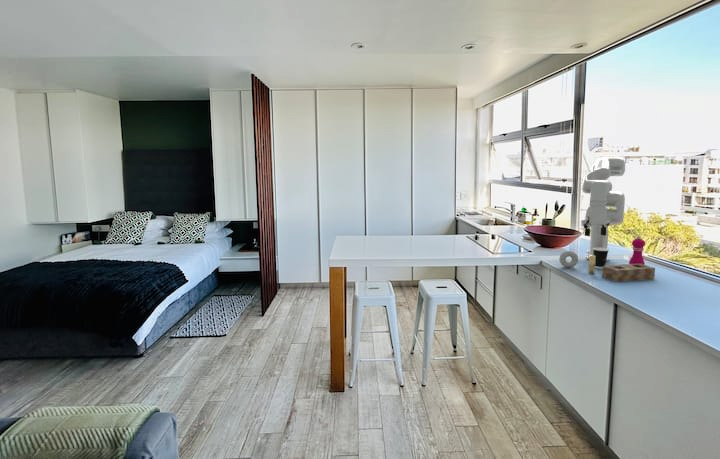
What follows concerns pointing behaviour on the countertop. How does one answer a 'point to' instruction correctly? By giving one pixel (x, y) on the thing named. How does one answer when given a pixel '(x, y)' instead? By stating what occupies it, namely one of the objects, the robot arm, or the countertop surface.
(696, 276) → the countertop surface
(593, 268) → the brass peg
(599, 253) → the dixie cup
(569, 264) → the donut
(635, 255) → the pepper mill
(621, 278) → the hole block
